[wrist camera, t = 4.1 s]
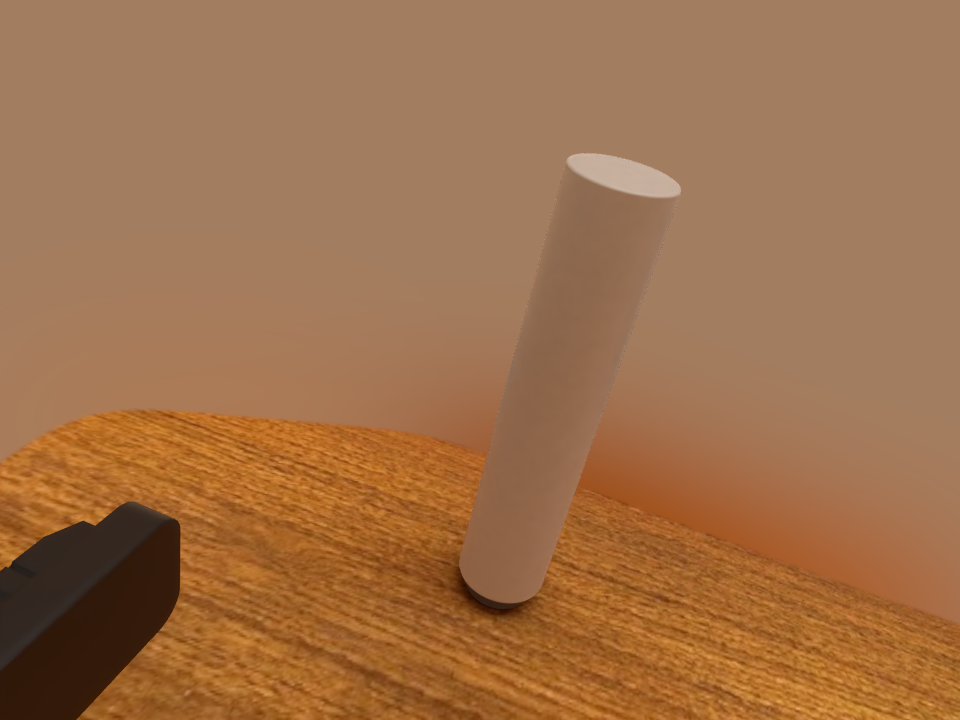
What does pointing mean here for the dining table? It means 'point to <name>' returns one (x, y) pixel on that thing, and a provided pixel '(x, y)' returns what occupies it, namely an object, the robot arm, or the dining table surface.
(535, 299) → the white cylindrical rod
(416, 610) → the dining table surface
